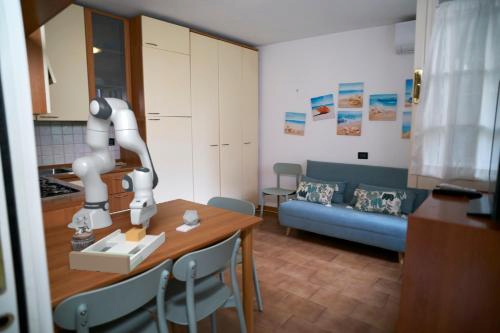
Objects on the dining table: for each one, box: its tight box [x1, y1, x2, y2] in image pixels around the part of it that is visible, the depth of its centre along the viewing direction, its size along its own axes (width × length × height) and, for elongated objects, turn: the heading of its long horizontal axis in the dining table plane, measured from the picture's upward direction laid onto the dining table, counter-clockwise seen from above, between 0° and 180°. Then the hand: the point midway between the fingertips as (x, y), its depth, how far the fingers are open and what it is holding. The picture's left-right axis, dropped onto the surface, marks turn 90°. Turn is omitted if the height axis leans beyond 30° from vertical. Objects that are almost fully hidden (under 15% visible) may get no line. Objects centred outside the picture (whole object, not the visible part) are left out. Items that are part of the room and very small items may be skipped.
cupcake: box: [70, 226, 96, 252], centre depth 142 cm, size 10×10×10 cm
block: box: [125, 227, 147, 242], centre depth 148 cm, size 6×8×4 cm
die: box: [182, 209, 200, 226], centre depth 177 cm, size 8×9×10 cm
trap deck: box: [68, 228, 166, 275], centre depth 137 cm, size 24×34×6 cm
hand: (145, 227), depth 156 cm, fingers closed
